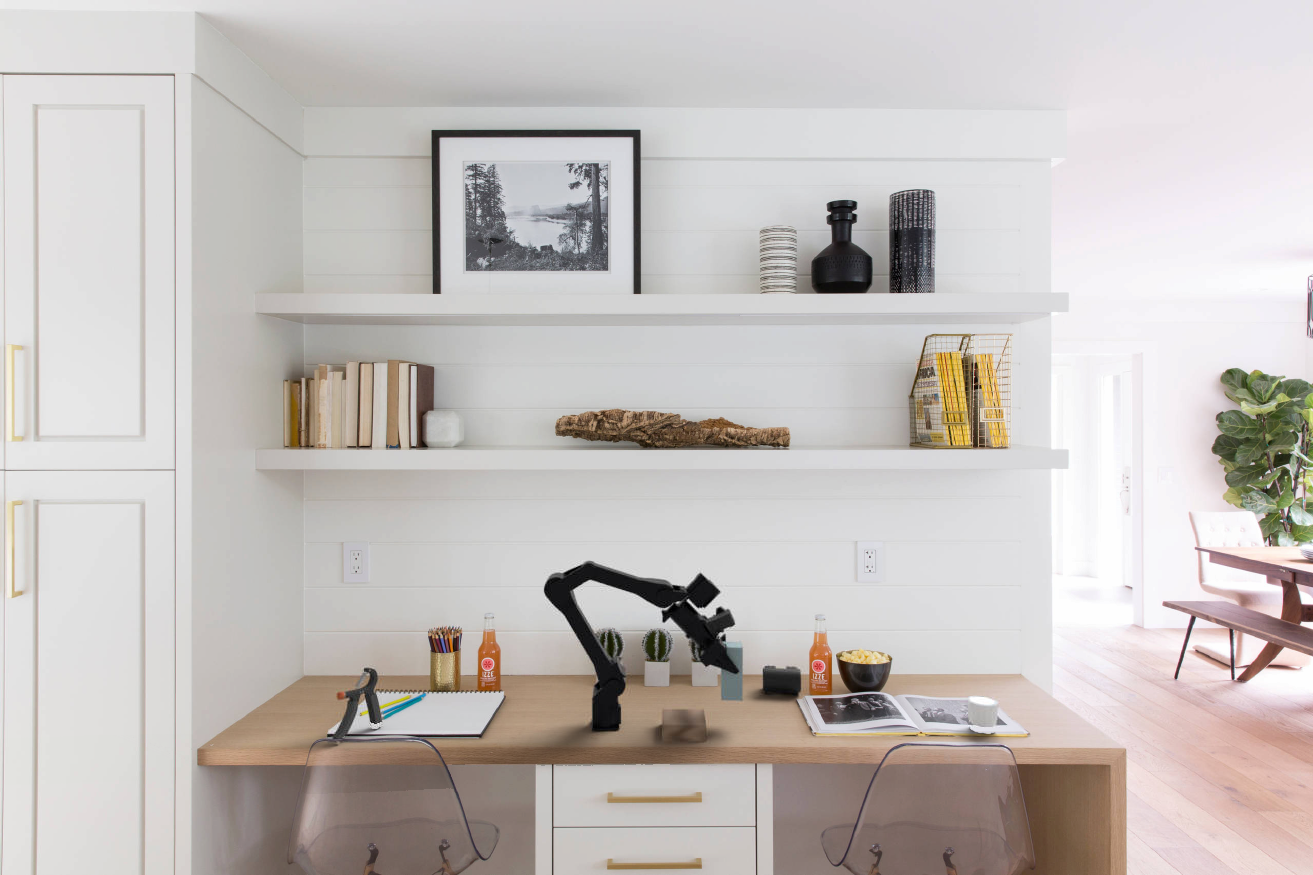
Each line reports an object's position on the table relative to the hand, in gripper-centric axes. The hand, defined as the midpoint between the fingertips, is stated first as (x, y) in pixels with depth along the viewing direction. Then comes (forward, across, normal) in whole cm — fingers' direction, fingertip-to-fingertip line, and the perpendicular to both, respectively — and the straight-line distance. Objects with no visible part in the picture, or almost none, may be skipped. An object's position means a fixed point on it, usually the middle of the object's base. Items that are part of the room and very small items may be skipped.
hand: (737, 669), depth 179 cm
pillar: (+4, 0, +6) cm, 7 cm away
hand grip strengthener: (-52, -12, +72) cm, 89 cm away
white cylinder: (+50, +1, -31) cm, 59 cm away
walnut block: (+1, -5, +19) cm, 19 cm away
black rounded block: (+19, +24, +1) cm, 30 cm away
